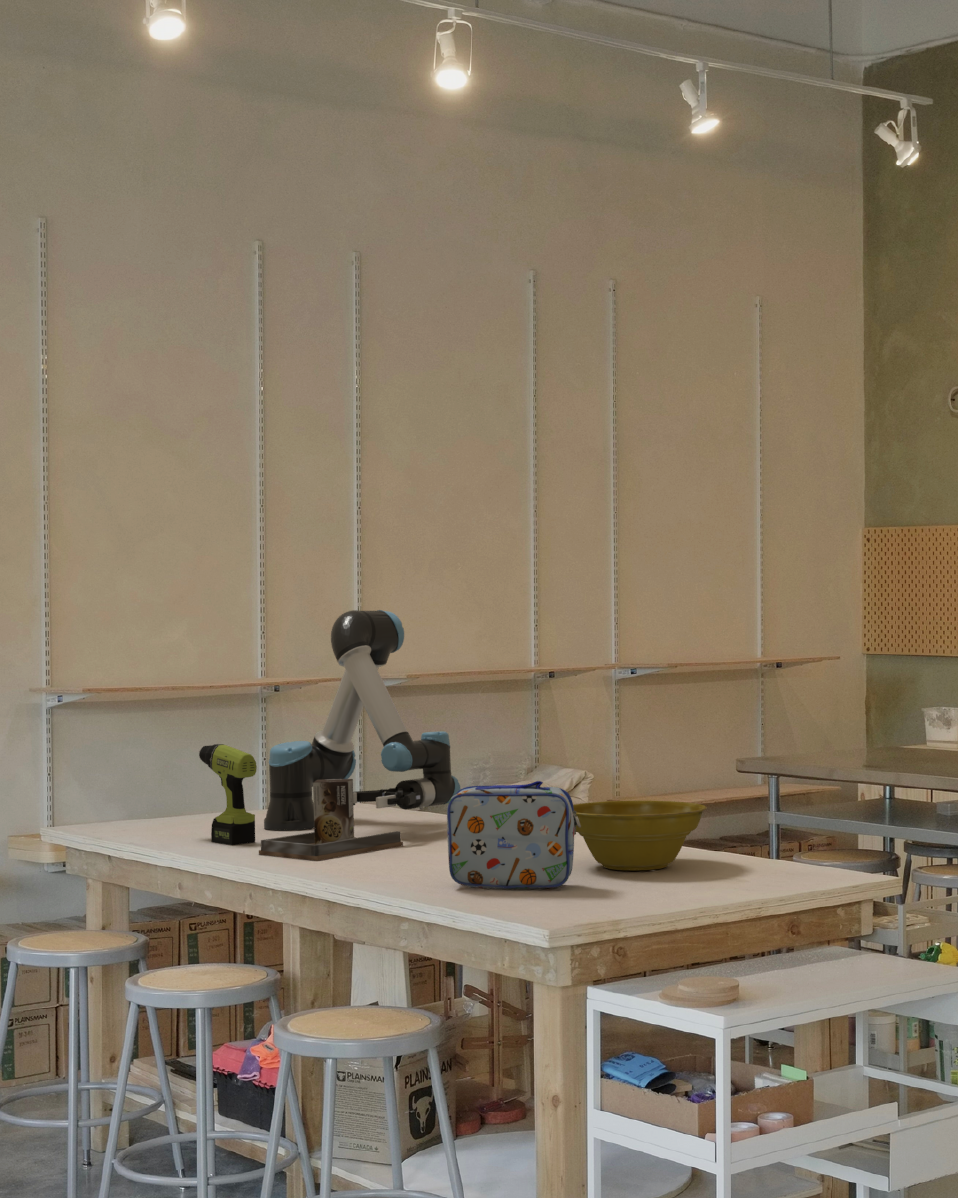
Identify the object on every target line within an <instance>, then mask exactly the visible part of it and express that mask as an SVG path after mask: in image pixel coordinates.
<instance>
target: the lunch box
mask: <svg viewBox="0 0 958 1198" xmlns="http://www.w3.org/2000/svg"><path fill="white" fill-rule="evenodd" d="M543 783H544V782H543V781H541V780H537V781H534V782H531V783H526V784H510V785H508V784H506V785H505V784H501V785H499V784H498V785H495V784H494V785H471V786H466V787H463V788H461V790H459V791H458V792H457V793H456V794H455V795H454V796H453V797H452V798H451V799H450V801H449V803H447V806H446V825H447V829H446V830H447V852H448V856H447V857H448V869H449V875H450V877H451V879H452V880H453V881H454V883H457V884H458V885H462V886H464V887H469V888H478V889H479V888H480V889H496V890H497V889H498V890H503V889H504V890H509V889H511V890H513V889H516V890H517V889H518V890H519V889H520V890H521V889H522V890H529V889H531V890H532V889H533V890H535V889H547V888H551V889H552V888H558V887H561V886H564V884H565V883H566V882H567V881H568V880H569V877H570V876H571V874H572V871H573V866H574V851H575V835H577V832H576V825H578V827H581V825H580V822H579V819H578V817H577V816H576V811H574V808H573V805H574V803H573V799H572V797H571V795H570V793H568V791H567V790H565V789H563V788H561V787H557V786H556V787H553V786H542V785H543Z"/></svg>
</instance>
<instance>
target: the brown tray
mask: <svg viewBox="0 0 958 1198" xmlns="http://www.w3.org/2000/svg"><path fill="white" fill-rule="evenodd" d="M399 847H404V841H402V840H401V831H392V832H391V831H390V832H384V833H379V834H371V835H365V836H360V837H355V836H354V838H353V839H346V840H340V841H334V842H328V843H322V844H316V845H315V836H314V831H313V832H312V831H311V832H307V833H298V834H294V835H293V834H292V835H287V836H285V835H284V836H280V837H274V838H273V837H272V838H267V839H261V840H260V849H259V850H258V855H261V856H269V857H270V856H271V857H280V858H288V859H296V860H297V859H298V860H307V861H314V862H315V861H316V862H318V861H323V860H324V861H325V860H329V859H330V860H331V859H335V858H342V857H346V856H347V857H348V856H353V855H358V854H365V853H371V852H376V851H381V850H388V849H393V848H399Z"/></svg>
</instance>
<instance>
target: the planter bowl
mask: <svg viewBox="0 0 958 1198" xmlns="http://www.w3.org/2000/svg"><path fill="white" fill-rule="evenodd" d="M573 808H574V811H576V816H577V817H578V819H579V822H580V825H581V827H578V825H576V833H578V835H580V836H581V837H582V838H583V840H584V842H585V845H586V846H587V848H588V850H589V852H590V854H591V855H592V857H593V859H594V860H595V861H596V863H598V864H600V865H602V867H603V868H606V869H608V870H617V871H623V872H624V871H651V870H652V871H653V870H660V869H664V868H667V867H668V866H669V865H670V864H671V863H674V861H675V860H676V858H677V857H678V856H679V853H680V851H681V849H682V847H683V845H684V843H685V840H686V837H687V836H689V835H690V834H691V833H692V832H693V831H695V830H696V829H697V828H698V826H699V823H700V821H701V819H702V815H703V812H704V811H705V810H707V809H708V807H707V806H706V805H704V804H700V803H695V802H688V801H687V802H686V801H685V802H684V801H675V800H674V801H672V800H610V801H608V800H607V801H593V802H591V801H590V802H584V803H583V802H581V803H576V804H575V803H573Z"/></svg>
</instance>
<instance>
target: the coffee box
mask: <svg viewBox="0 0 958 1198" xmlns="http://www.w3.org/2000/svg"><path fill="white" fill-rule="evenodd" d="M353 782H354V780H353V778H348V779H325V780H316V781H315V782H313V787H312V800H313V803H314V828H313V830H314V831H313V832H314V836H315V845H316V844H322V843H328V842H334V841H340V840H346V839H353V838H354V837H355V823H354V822H355V818H354V817H355V816H354V805H353V792H354V783H353Z"/></svg>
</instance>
